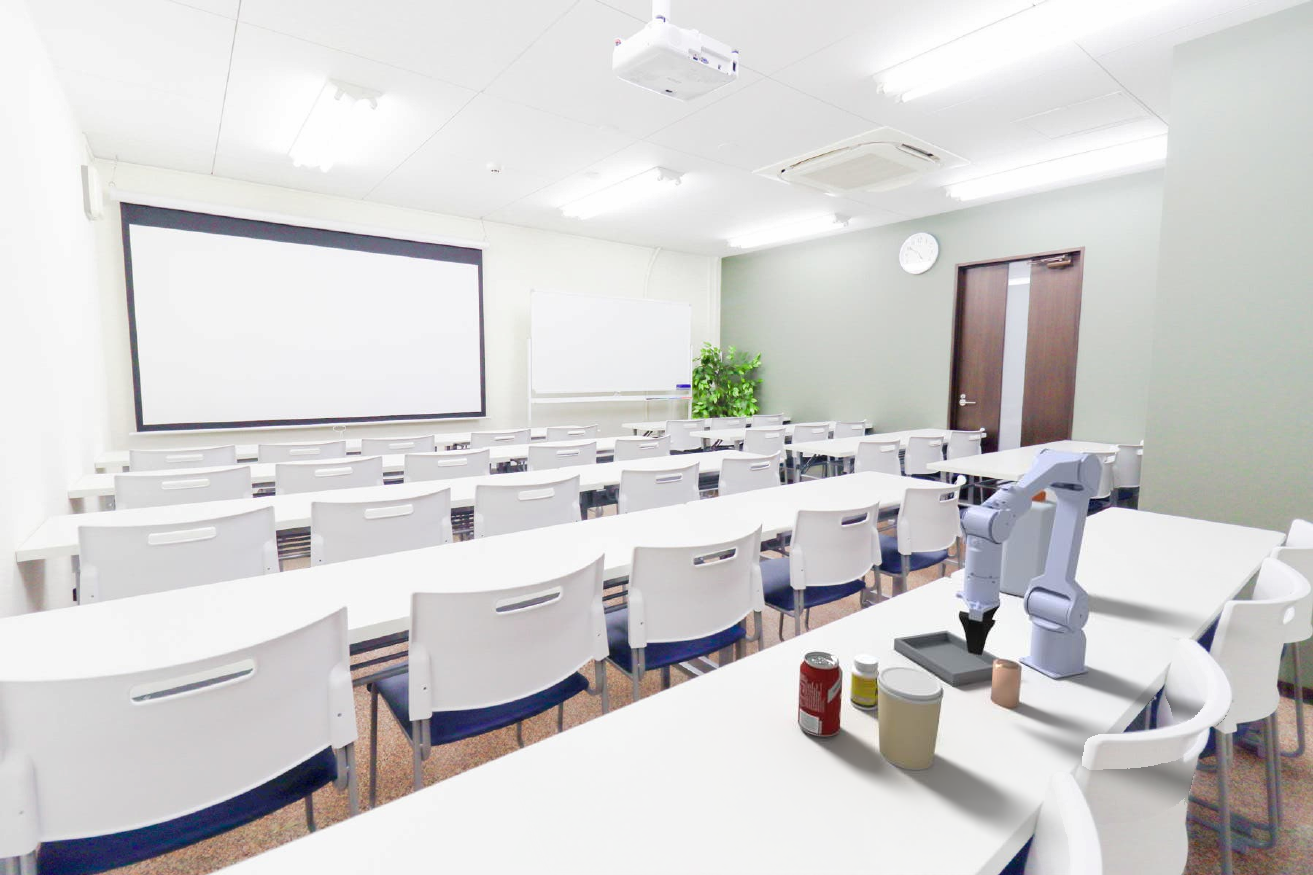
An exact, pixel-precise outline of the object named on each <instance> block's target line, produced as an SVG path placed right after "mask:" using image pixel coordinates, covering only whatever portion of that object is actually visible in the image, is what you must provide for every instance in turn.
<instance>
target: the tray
mask: <svg viewBox="0 0 1313 875" xmlns="http://www.w3.org/2000/svg"><path fill="white" fill-rule="evenodd" d="M893 641H894V642H893V650H895V651H896V652H897V653H898V654H900V655H902V656H904V657H905V658H907V659H908V660H910V661H912V662H913V663H914V664H917V666H920V667H921V668H922V669H925V670H926V672H929V673H930V674H932V676H934V677H937V678H938V679H940V680H942V681H943V682H944V683H946V684H948V685H950V686H951V687H956V686H961V685H967V684H971V683H978V682H981V681H988V680H992V674H993V661H994V660H995V659H1001V658H999V657H997V656H995V655H994V654H992V653H991V652H988V651H986V650H983V653H982V655H976V654H972V653H969V652H968V649H967V643H966V639H963V638H962V637H960V636H957V635H956V634H954V633H952V632H950V631H948V630H940V631H936V632H935V631H934V632H929V633H922V634H916V635H915V634H914V635H910V636H909V635H908V636H903V637H897V638H894V640H893Z"/></svg>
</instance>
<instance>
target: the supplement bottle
mask: <svg viewBox="0 0 1313 875" xmlns="http://www.w3.org/2000/svg"><path fill="white" fill-rule="evenodd" d="M878 669H879V660H878V658H877V657H875V656H873V655H871V654H868V653H867V654H865V653H860V654H856V655H855V656H854V658H853V666H852V667H851V671H850V689H849V690H850V691H849V692H850V693H849V694H850V695H849V702H850V704H851V705H852V706H853V707H855V708H856V709H859V710H862V711H873V710H876V709H877V708H878V684H877V678H878V676H879V675H880V672H879V670H878Z"/></svg>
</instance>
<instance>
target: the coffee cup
mask: <svg viewBox="0 0 1313 875" xmlns="http://www.w3.org/2000/svg"><path fill="white" fill-rule="evenodd" d="M877 684H878V706H877V708H878V709H877V711H878V713H877V714H878V715H877V716H878V746H879V747H878V748H879V751H880V752H879V753H880V755H881V756H882V757H883V758H884V759H885V760H886V761H887V762H889V763H890V764H892V765H894V766H896V767H899V768H901V769H904V770H910V771H923V770H926V769H928V768H930V767H931V766H932V765H933V762H934V757H935V752H936V744H937V737H938V730H939V724H940V717H941V716H940V715H941V711H942V710H941V709H942V702H943V697H944V694H945V692H944V689H943V687H942V684H941V682H940V681H939V680H938V679H937V678H936V677H935V676H934V675H930V674H929V673H927V672H925V671H922V670H919V669H916V668H911V667H905V666H893V667H891V666H890V667H888V668H884V669H883V670H881V671H880V672H879V676H878V678H877Z"/></svg>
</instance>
